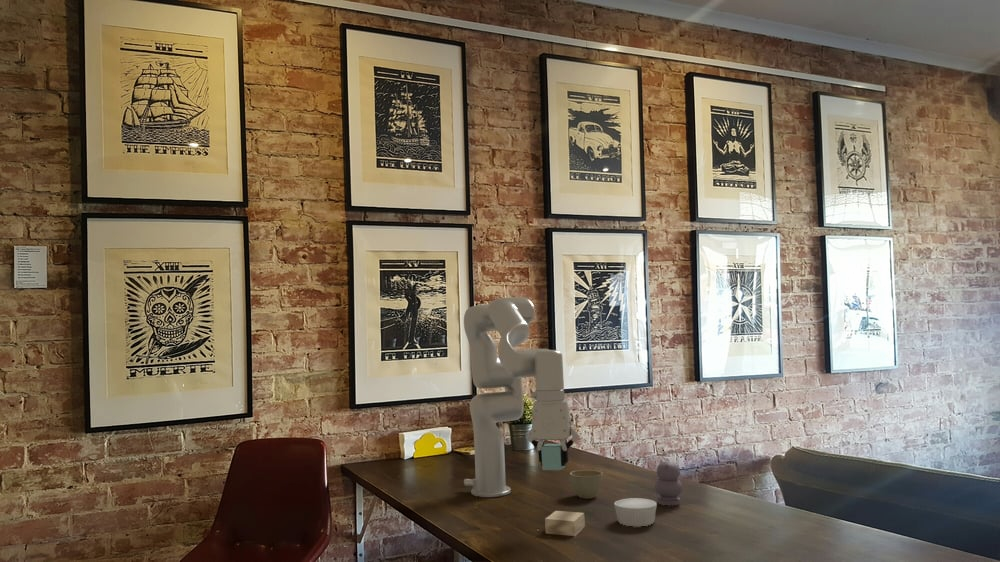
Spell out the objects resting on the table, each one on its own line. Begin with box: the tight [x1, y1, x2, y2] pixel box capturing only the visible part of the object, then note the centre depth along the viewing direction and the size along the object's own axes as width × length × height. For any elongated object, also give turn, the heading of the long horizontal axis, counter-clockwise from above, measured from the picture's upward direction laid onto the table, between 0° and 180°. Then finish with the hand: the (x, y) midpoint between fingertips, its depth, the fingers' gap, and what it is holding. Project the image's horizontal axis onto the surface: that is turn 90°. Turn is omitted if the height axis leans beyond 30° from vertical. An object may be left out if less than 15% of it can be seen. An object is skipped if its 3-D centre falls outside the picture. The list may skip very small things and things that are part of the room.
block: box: [541, 443, 566, 471], centre depth 197 cm, size 5×5×6 cm
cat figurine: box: [654, 459, 683, 507], centre depth 215 cm, size 8×8×12 cm
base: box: [544, 510, 586, 537], centre depth 193 cm, size 8×8×4 cm
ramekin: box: [613, 497, 658, 528], centre depth 197 cm, size 11×11×5 cm
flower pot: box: [569, 469, 604, 499], centre depth 227 cm, size 10×10×7 cm
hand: (553, 464), depth 197 cm, fingers closed on block, 5 cm apart
